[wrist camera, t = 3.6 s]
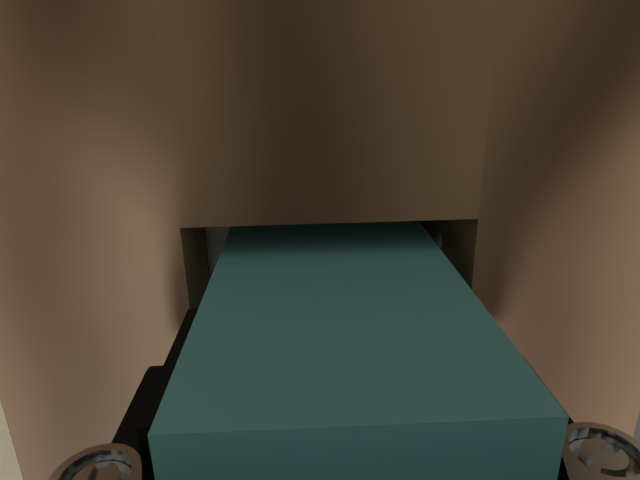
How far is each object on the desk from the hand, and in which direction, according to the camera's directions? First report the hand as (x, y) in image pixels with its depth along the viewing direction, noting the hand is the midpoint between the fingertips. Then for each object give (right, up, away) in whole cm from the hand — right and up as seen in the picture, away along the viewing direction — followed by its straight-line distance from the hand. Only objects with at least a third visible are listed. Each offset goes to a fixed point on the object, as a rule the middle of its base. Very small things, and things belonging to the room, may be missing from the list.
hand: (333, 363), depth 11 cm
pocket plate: (0, +1, +3) cm, 3 cm away
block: (0, +1, +3) cm, 3 cm away
